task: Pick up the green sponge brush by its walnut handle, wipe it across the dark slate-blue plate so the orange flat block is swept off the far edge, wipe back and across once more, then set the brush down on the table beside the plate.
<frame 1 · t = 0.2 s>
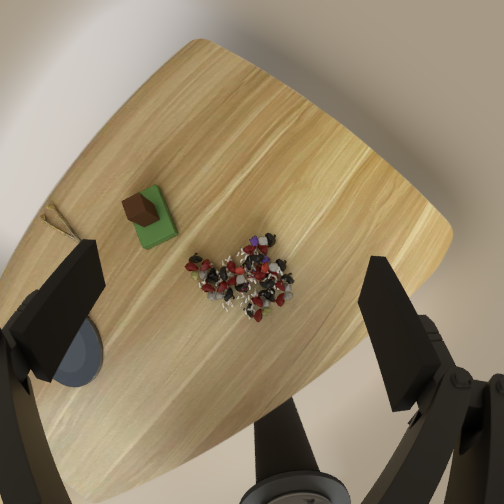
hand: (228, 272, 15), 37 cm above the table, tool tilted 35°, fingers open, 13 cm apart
dark lumpy cluster: (245, 276, 52), on the table
plate: (67, 345, 50), on the table
tongs: (58, 228, 50), point 2 cm above the table
sponge brush: (153, 218, 52), on the table
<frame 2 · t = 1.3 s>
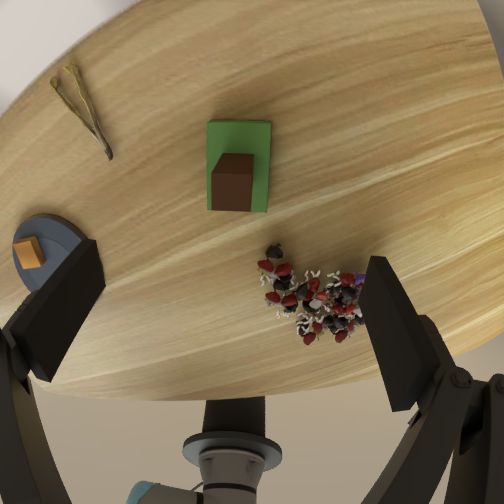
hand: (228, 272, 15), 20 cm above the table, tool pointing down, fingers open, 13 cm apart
orange flat block: (32, 250, 36), point 1 cm above the table, touching plate
dark lumpy cluster: (318, 287, 40), on the table
plate: (56, 265, 39), on the table
tongs: (75, 116, 27), point 2 cm above the table
sponge brush: (239, 162, 32), on the table
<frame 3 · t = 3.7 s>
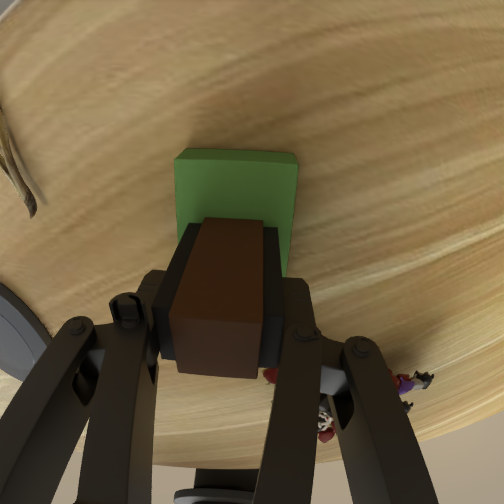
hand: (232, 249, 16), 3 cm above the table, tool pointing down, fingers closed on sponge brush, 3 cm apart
dark lumpy cluster: (344, 379, 27), on the table
plate: (4, 331, 26), on the table
sponge brush: (236, 223, 19), on the table, touching gripper
when the fingers open (3 cm above the table, at t = 23.3 s): sponge brush stays where it is, on the table.
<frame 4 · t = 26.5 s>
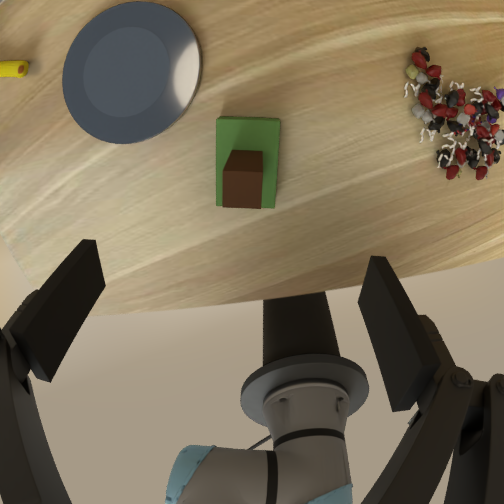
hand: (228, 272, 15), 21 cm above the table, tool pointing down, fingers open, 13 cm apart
dark lumpy cluster: (453, 115, 28), on the table
plate: (128, 71, 27), on the table
fruit: (15, 67, 26), on the table
sponge brush: (247, 158, 32), on the table
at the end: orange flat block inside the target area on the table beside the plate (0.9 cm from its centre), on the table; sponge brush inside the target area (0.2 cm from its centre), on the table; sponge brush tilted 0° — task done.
